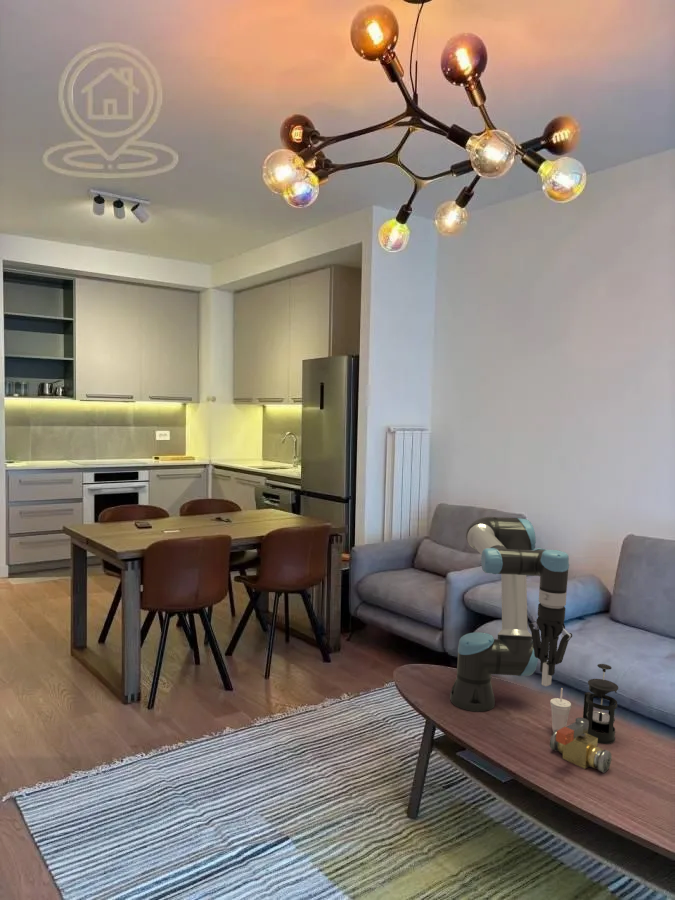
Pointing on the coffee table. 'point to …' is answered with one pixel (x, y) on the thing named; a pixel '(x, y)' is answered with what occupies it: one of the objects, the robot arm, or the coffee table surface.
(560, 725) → the smoothie
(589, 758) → the pipe valve
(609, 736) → the french press
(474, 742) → the coffee table surface
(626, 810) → the coffee table surface
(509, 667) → the robot arm
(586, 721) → the lever
